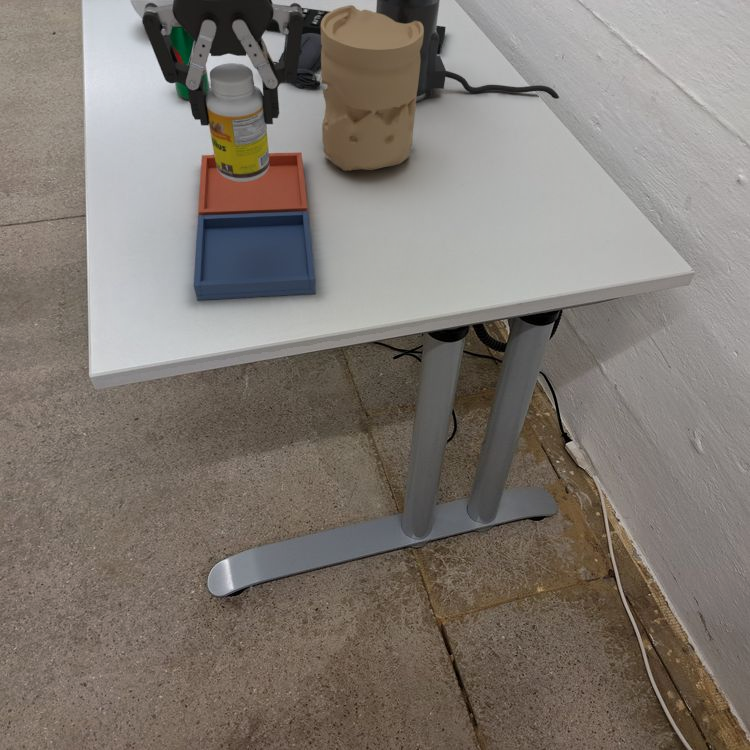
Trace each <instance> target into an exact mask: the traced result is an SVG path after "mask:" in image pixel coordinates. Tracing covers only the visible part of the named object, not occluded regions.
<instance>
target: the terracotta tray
mask: <svg viewBox="0 0 750 750" xmlns="http://www.w3.org/2000/svg"><path fill="white" fill-rule="evenodd" d="M200 160H201V162H200V163H201V164H200V177H199V193H198V194H199V195H198V210H197V213H198V216H200V215H226V214H251V213H275V212H300V211H302V212H303V211H308V212H309V209H308V199H307V190H306V182H305V181H306V180H305V172H304V171H305V170H304V162H303V153H302V152H269V168H268V170H267V172H266V173H265V174H264V175H263V176H261V177H260V178H258V179H255V180H252V181H246V182H238V181H233V180H230V179H227V178H225V177H224V176H222V175H221V174H220V173H219V171H218V170H217V167H216V162H215V156H214V154H203V155H201V159H200Z"/></svg>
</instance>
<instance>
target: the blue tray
mask: <svg viewBox="0 0 750 750" xmlns="http://www.w3.org/2000/svg"><path fill="white" fill-rule="evenodd" d="M310 227H311V225H310V217H309V210H308V211H303V212H302V211H300V212H275V213H251V214H226V215H200V216H199V215H197V228H196V243H195V258H194V259H195V260H194V273H193V274H194V275H193V288H194V293H195V298H196V300H197V301H205V300H206V301H207V300H209V301H210V300H223V299H224V300H227V299H243V298H244V299H245V298H261V297H278V296H279V297H280V296H297V295H313V294H316V293H317V290H316V289H317V288H316V274H315V265H314V264H315V263H314V255H313V245H312V236H311V235H312V234H311V228H310Z"/></svg>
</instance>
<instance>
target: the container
mask: <svg viewBox="0 0 750 750" xmlns="http://www.w3.org/2000/svg"><path fill="white" fill-rule="evenodd" d="M423 35H424V28H423V25H422V23H421V22H419V21H413V22H411V23H408V24H403V23H398V22H395V21H393V20H392V19H391V18H389V17H387V16H385V15H383V14H380V13H376V11H372V10H369V9H362V10H360V9H358V8H357V7H356V6H354V5H352V4H350V5H345V6H340V7H338V8H335V9H333V10H331V11H330V12H329V13H328V14H326V15H325V16H324V17H323V19H322V21H321V45H322V49H321V67H320V71H321V73H320V75H321V79H320V80H321V85H327V86H326V88H324V89H322V95H323V99H324V102H325V108H324V109H325V110H324V117H323V120H322V124H321V125H322V126H321V139H322V141H321V142H322V145H323V148H322V151H323V154H324V156H325V157H326V158H327V159H328V160H329V161H331V162H332V163H333V164H334V165H335V166H336V167H338V168H339V169H341V171H343V172H349V171H350V172H351V171H355V170H356V171H358V170H371V171H372V170H373V171H374V170H378V169H382V168H386V167H393V166H397V165H400V164H402V163H403V162H404V161H405V160H407V159H408V158H409V157H410V156H411V152H412V148H411V147H412V145H413V136H414V127H415V116H416V106H417V105H416V104H417V102H416V97H417V94H416V93H417V89H418V82H419V72H420V61H421V58H420V49H421V46H422V43H423Z"/></svg>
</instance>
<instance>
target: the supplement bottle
mask: <svg viewBox="0 0 750 750" xmlns="http://www.w3.org/2000/svg"><path fill="white" fill-rule="evenodd" d="M209 80H210V87H209V88H210V89H209V90H208V92H207V93H206V96H205V102H206V109H207V115H208V121H209V125H208V128H209V131H210V138H211V144H212V151H213V155H214V156H215V162H216V167H217V170H218V171H219V173H220V174H221V175H222V176H224V177H225V178H227V179H230V180H233V181H238V182H246V181H252V180H255V179H258V178H260V177H261V176H263V175H264V174H265V173H266V172H267V170H268V168H269V153H270V151H269V140H268V128H267V124H266V120H265V109H264V98H263V91H261V89H260V88H259V87H258V86H256V85H255V80H254V73H253V70H252V69H251V68H250V67H249V66H247V65H245V64H241V63H235V62H228V63H222V64H218V65H216V66H214V67H213V68H212V69H211V70H210V71H209Z"/></svg>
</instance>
